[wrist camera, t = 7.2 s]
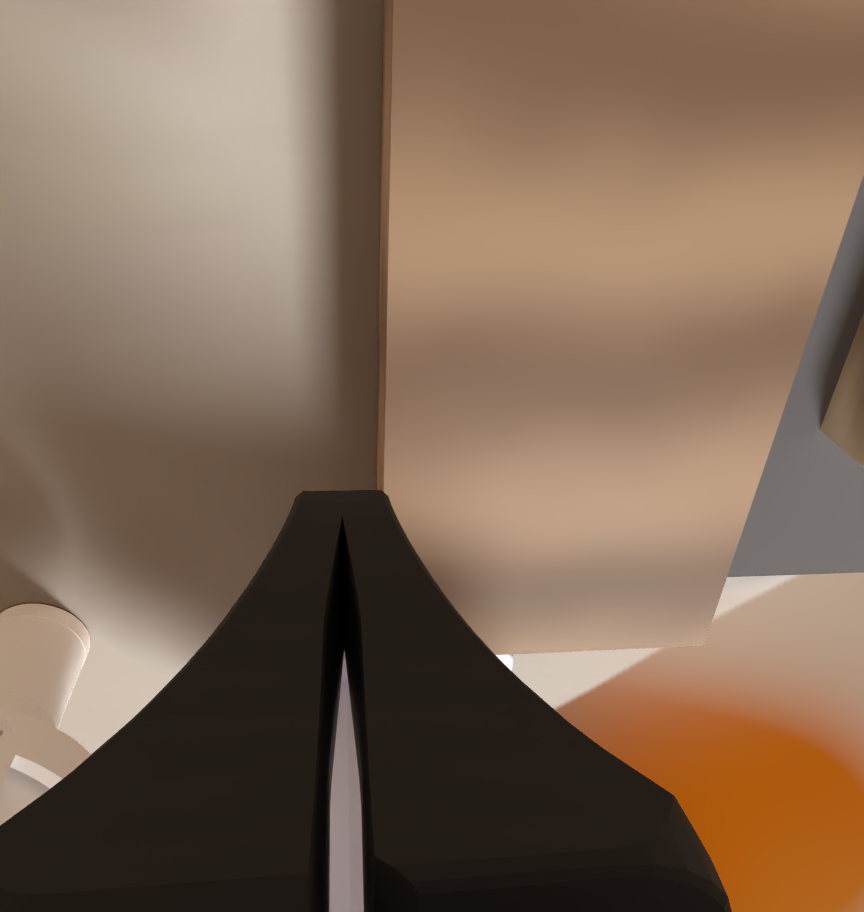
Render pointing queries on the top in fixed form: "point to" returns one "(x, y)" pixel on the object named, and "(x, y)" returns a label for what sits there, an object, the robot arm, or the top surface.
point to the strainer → (37, 701)
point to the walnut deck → (601, 293)
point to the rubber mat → (813, 446)
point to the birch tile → (849, 403)
